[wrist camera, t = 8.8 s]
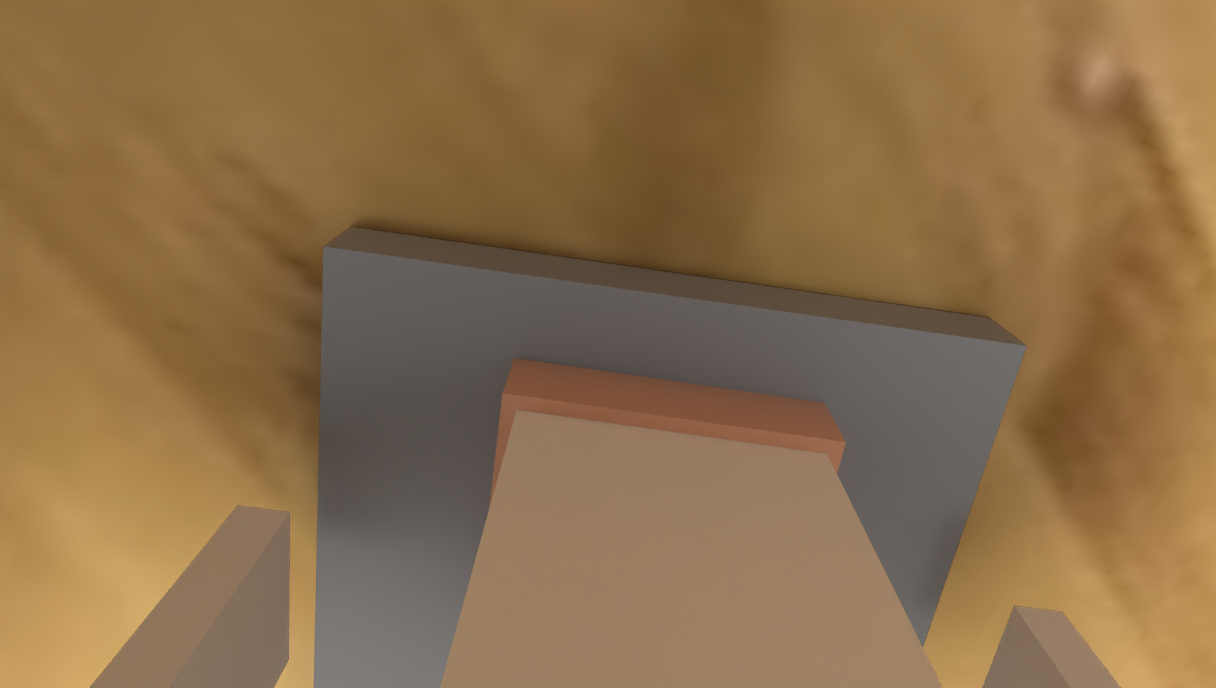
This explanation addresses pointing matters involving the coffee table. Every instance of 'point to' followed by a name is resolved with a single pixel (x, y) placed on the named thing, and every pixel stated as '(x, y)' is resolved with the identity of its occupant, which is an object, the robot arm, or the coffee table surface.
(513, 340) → the pin board
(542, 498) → the sleeve
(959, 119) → the coffee table surface
